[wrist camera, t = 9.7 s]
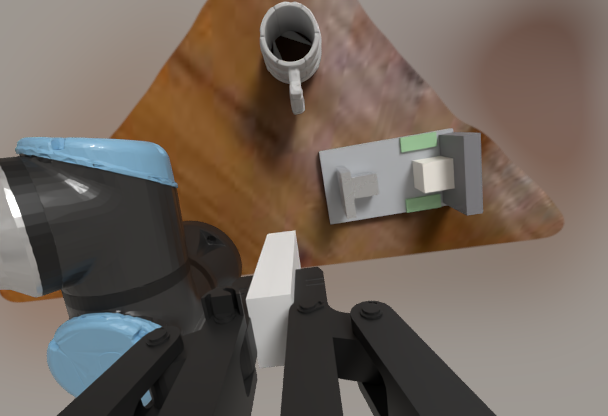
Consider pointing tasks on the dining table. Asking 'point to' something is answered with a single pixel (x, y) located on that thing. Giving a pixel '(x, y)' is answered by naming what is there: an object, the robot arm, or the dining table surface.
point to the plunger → (355, 188)
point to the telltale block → (433, 174)
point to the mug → (284, 23)
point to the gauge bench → (406, 174)
